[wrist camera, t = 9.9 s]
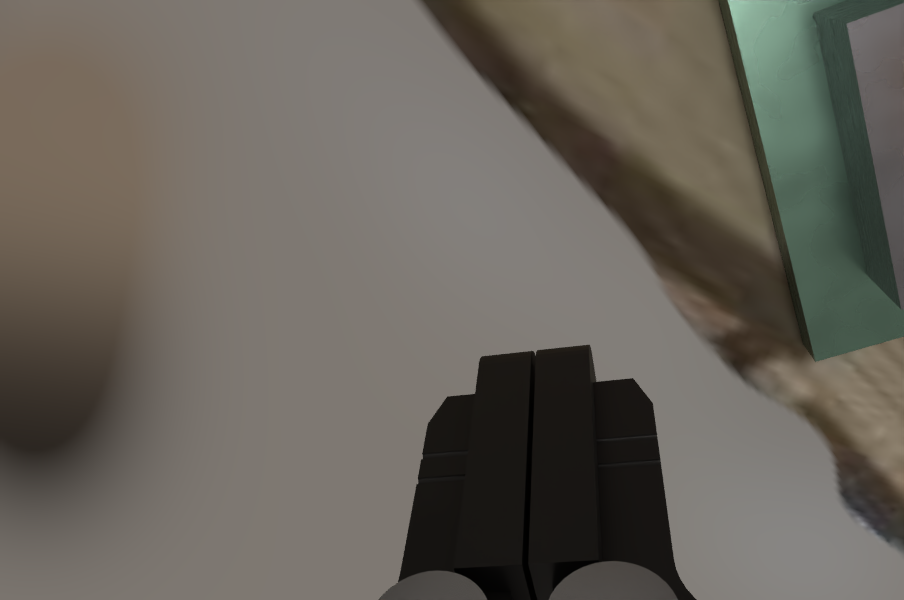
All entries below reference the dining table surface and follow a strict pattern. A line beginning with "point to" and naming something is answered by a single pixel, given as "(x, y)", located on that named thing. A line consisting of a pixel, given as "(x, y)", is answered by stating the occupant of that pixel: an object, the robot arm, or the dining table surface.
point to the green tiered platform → (830, 157)
